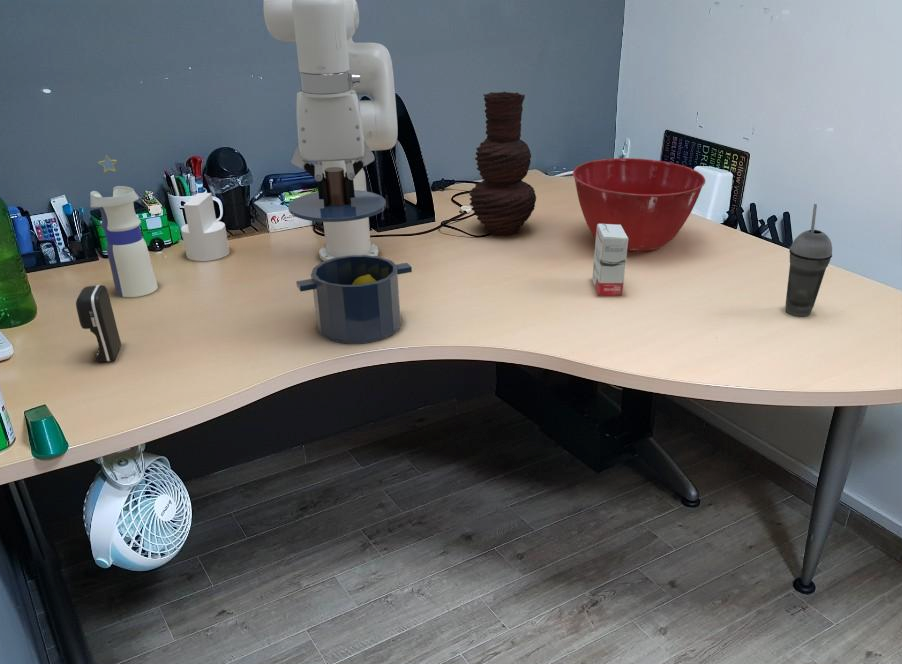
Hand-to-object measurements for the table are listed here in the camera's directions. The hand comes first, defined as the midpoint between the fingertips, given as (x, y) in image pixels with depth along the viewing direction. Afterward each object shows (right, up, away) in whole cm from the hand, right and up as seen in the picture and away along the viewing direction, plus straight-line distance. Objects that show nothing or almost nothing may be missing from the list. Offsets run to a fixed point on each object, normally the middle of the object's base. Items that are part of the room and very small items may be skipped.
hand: (337, 201), depth 131 cm
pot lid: (0, -1, 0) cm, 1 cm away
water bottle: (-44, -11, +25) cm, 52 cm away
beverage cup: (+82, -16, +17) cm, 86 cm away
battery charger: (-39, -25, +2) cm, 46 cm away
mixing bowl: (+57, +3, +50) cm, 76 cm away
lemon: (+2, -18, +11) cm, 21 cm away
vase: (+28, +7, +57) cm, 64 cm away
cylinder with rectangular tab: (-36, -1, +43) cm, 56 cm away
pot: (+2, -19, +12) cm, 22 cm away
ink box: (+48, -10, +27) cm, 56 cm away
